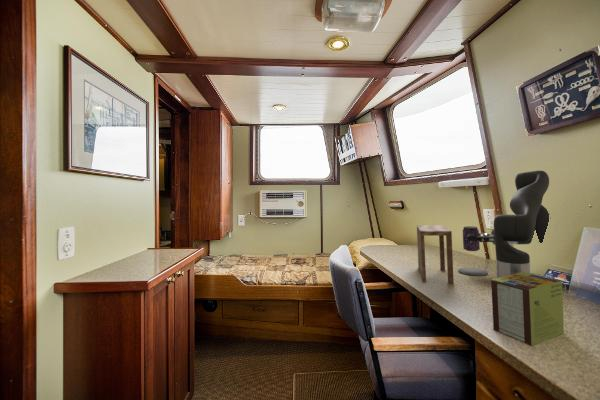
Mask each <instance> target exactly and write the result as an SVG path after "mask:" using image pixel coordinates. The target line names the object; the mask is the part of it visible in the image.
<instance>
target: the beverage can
mask: <svg viewBox="0 0 600 400" xmlns="http://www.w3.org/2000/svg"><path fill="white" fill-rule="evenodd" d="M479 233H480V232H479V229H478V226H471V225H470V226H463V229H462V243H463V245H462V246H463V250H465V251H468V252H477V251H479V250H480V249H481V247H480V242H478V241H477V240H476V241H468V236H476V237H477V236H479Z"/></svg>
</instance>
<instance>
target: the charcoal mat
mask: <svg viewBox="0 0 600 400" xmlns="http://www.w3.org/2000/svg"><path fill="white" fill-rule="evenodd" d="M457 272H458V273H459V274H461V275H465V276H472V277H485V276H487V275H489V272H488V271H486V270H485V269H480V268H473V267H462V268H459V269H457Z"/></svg>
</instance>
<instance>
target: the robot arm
mask: <svg viewBox="0 0 600 400" xmlns="http://www.w3.org/2000/svg"><path fill="white" fill-rule="evenodd" d="M514 184H515V188H516V191H515V192H514V193H513V194H512V197H511V199H510V201H509V208H510V210H511V211H512V213H513V214H496V215H495V217H494V219H493V229H492V230H491V231H490V232H491V233H487V232H479V236H477V237H476V236H468V241H476V240H477V241H478V242H479V243H492V245H494V246H495V248H494V249H495V259H496V265H495V266H496V278H500V277H504V276H508V275H512V274H517V273H521V272H524V273H529V274H531V259H530V254H529V253H527V252H526V251H523V250H520V249H519V248H516V247H514V246H512V245H529V244H531V243H532V241H533V239H532V238H533V235H534V231H535V230H536V233H537V236H538V239H539V242H540V243H542V242H543V239H544V235H545V232H546V229H547V226H548V222H549V215H550V212H549V210H548V209H547V208H546V207H545V206H544V205H542V202H543V198H544V195H545V194H546V192H547V191H548V189H549V186H550V177H549V173H547V172H546V171H544V170H533V171H525V172H520V173H517V174H516V175H515V178H514ZM547 210H548V211H547ZM548 212H549V213H548ZM539 242H538V243H539Z"/></svg>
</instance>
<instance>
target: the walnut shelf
mask: <svg viewBox="0 0 600 400" xmlns="http://www.w3.org/2000/svg"><path fill="white" fill-rule="evenodd" d="M452 234H453V233H452V230H451V229H449V228H447V226H445V225H443V224H437V225H436V224H432V225H431V224H428V225H426V224H423V225H416V240H417V241H416V243H417V263H418V265H417V266H418V271H419V274H420V278H421V280H422V283H427V273H426V272H427V271H426V269H427V268H426V250H425V249H426V247H425V236H426V237H427V236H432V237H434V236H436V237H437V236H438V242H439V267H440V268H439V269H440V271H446V269H447V283H448V284H451V285H453V284H454V283H455V281H454V261H453V256H454V255H453V238H452V237H453V236H452ZM445 239H446V244H445ZM445 245H446V259H445ZM446 265H447V266H446ZM446 267H447V268H446Z"/></svg>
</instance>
